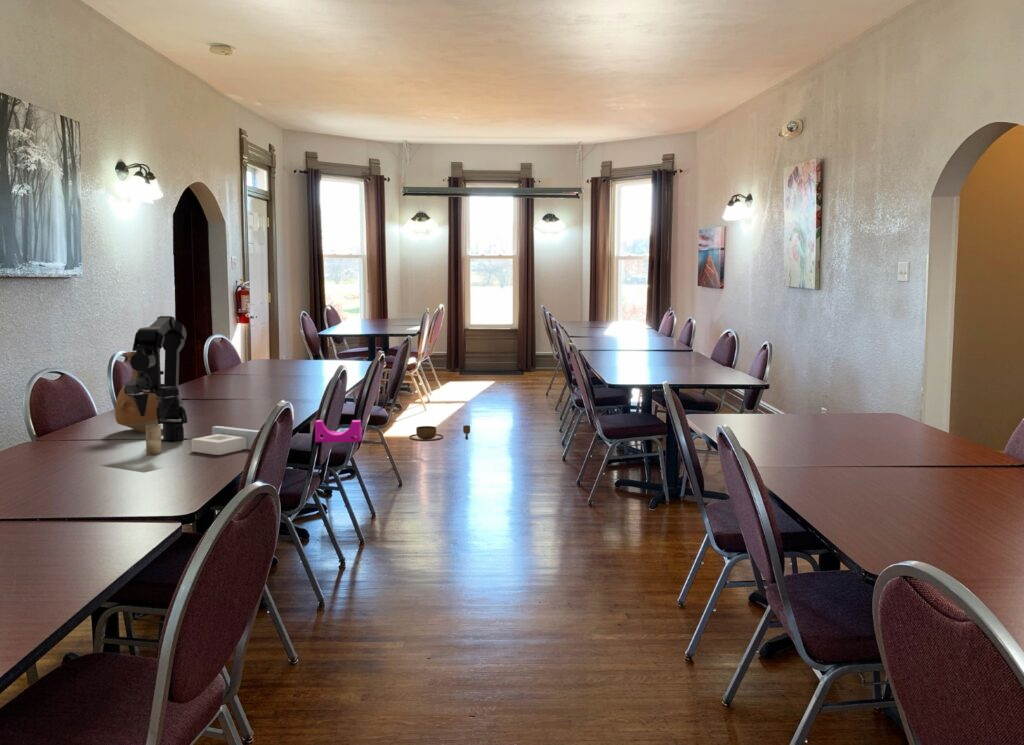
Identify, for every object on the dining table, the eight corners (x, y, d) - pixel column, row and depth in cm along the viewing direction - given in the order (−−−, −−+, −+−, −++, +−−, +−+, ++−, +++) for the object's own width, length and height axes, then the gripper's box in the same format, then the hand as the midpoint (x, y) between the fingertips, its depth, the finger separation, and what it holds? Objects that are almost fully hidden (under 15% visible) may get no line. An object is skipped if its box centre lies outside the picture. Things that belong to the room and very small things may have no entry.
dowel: (143, 454, 276) (142, 426, 275) (154, 451, 280) (154, 424, 279) (153, 455, 274) (152, 427, 273) (164, 453, 278) (163, 425, 277)
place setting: (432, 435, 315) (432, 419, 315) (473, 442, 303) (473, 425, 302) (396, 442, 302) (396, 425, 301) (438, 449, 289) (438, 432, 288)
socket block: (191, 451, 280) (191, 439, 280) (220, 445, 291) (219, 433, 290) (218, 455, 274) (218, 442, 274) (246, 448, 285) (246, 436, 285)
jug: (123, 440, 300) (120, 353, 297) (106, 432, 314) (103, 349, 311) (181, 433, 313) (178, 350, 310) (162, 426, 327) (159, 347, 324)
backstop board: (212, 444, 293) (211, 426, 292) (218, 443, 295) (217, 425, 294) (256, 450, 283) (256, 432, 283) (262, 448, 286) (261, 430, 285)
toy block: (362, 440, 303) (362, 418, 303) (359, 443, 297) (359, 421, 296) (319, 440, 303) (318, 418, 302) (315, 443, 297) (315, 421, 296)
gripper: (108, 369, 271) (110, 418, 273) (149, 372, 263) (151, 423, 264) (138, 366, 281) (140, 413, 283) (179, 369, 272) (181, 418, 274)
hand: (152, 417), depth 276 cm, fingers open, 9 cm apart
